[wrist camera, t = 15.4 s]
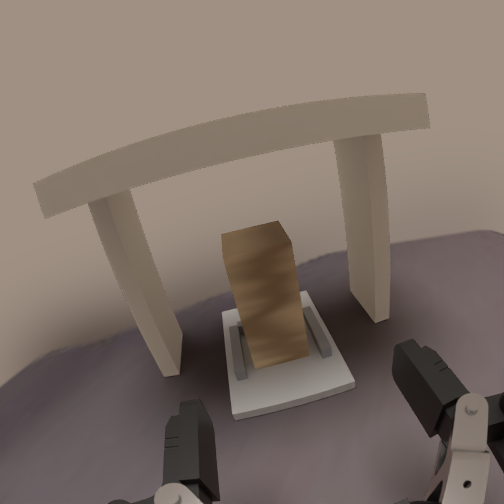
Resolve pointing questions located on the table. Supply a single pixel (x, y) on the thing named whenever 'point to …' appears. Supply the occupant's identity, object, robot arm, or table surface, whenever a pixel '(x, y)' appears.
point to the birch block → (266, 293)
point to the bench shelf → (233, 148)
